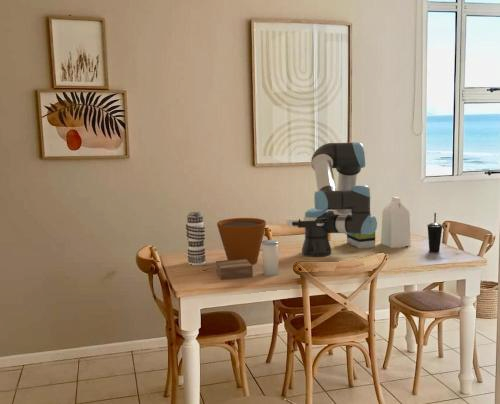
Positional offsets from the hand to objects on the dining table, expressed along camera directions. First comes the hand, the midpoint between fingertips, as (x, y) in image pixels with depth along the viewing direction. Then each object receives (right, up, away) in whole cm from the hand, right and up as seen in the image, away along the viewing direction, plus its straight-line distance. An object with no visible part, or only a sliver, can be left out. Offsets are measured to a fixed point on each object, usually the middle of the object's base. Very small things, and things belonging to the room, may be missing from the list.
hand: (295, 221), depth 243 cm
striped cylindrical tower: (-46, -22, +32) cm, 60 cm away
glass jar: (-10, -24, +9) cm, 27 cm away
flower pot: (-23, -21, +32) cm, 45 cm away
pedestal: (-27, -24, +10) cm, 37 cm away
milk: (+59, -15, +61) cm, 86 cm away
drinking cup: (+74, -17, +43) cm, 87 cm away
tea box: (+41, -15, +62) cm, 76 cm away
